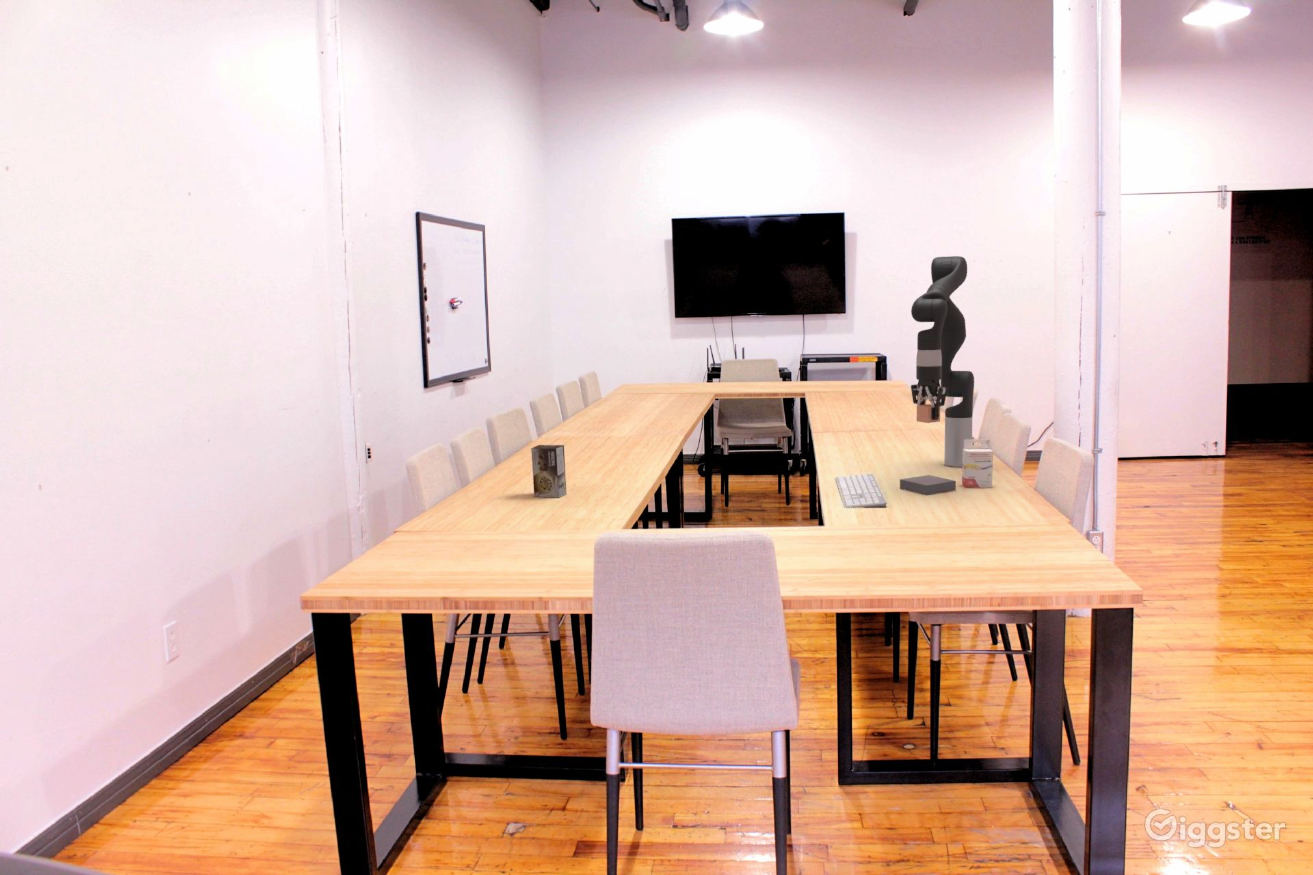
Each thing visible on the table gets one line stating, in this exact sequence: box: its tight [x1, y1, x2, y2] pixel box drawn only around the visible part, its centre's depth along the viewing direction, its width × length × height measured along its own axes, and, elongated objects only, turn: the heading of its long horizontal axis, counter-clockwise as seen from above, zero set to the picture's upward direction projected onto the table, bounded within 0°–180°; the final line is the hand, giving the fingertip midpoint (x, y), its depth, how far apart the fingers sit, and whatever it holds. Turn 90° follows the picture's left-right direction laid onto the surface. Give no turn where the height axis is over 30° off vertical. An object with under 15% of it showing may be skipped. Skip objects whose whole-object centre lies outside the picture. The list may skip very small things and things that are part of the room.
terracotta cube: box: [916, 403, 941, 424], centre depth 315 cm, size 5×5×5 cm
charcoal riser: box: [899, 474, 957, 496], centre depth 318 cm, size 12×12×3 cm
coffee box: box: [530, 444, 567, 498], centre depth 326 cm, size 9×6×16 cm
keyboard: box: [835, 473, 888, 509], centre depth 318 cm, size 44×12×2 cm, turn 173°
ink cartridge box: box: [961, 438, 994, 488], centre depth 320 cm, size 9×5×15 cm, turn 84°
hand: (928, 418), depth 315 cm, fingers closed on terracotta cube, 5 cm apart
